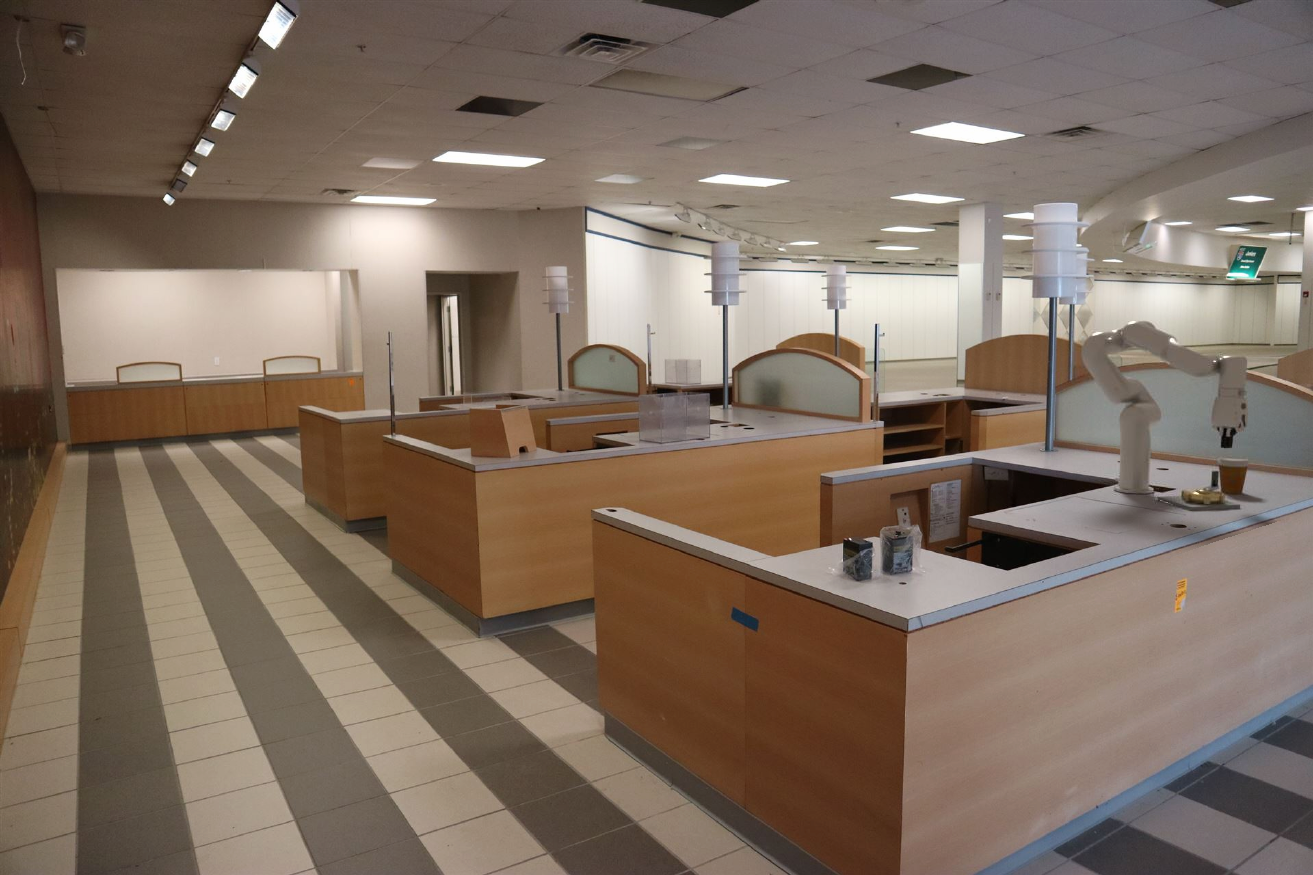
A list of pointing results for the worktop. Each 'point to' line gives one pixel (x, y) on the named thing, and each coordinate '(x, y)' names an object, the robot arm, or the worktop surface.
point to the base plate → (1197, 504)
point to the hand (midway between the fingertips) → (1226, 447)
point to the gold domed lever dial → (1205, 493)
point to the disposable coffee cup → (1232, 474)
